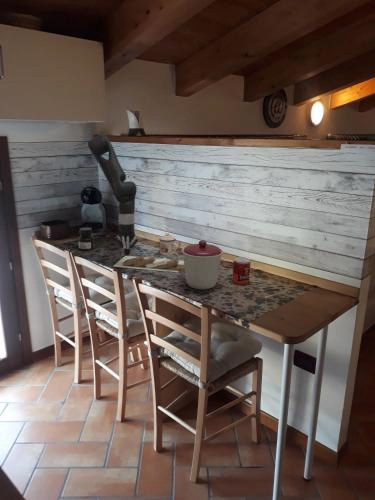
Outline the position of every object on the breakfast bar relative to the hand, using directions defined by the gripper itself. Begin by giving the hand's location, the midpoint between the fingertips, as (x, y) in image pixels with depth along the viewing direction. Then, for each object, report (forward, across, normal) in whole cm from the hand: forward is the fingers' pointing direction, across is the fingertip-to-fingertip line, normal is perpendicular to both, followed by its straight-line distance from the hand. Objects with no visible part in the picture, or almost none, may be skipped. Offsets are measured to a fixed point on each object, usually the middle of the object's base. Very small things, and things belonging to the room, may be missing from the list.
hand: (127, 255), depth 198 cm
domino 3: (+4, +11, 0) cm, 12 cm away
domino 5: (+4, +23, 0) cm, 23 cm away
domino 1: (+4, -1, 0) cm, 4 cm away
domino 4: (+4, +17, 0) cm, 17 cm away
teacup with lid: (+6, +16, +26) cm, 30 cm away
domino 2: (+4, +4, 0) cm, 6 cm away
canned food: (+6, +58, -8) cm, 59 cm away
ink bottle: (+6, -34, +22) cm, 41 cm away
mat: (+6, +10, +5) cm, 13 cm away
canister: (+6, +42, -18) cm, 45 cm away
